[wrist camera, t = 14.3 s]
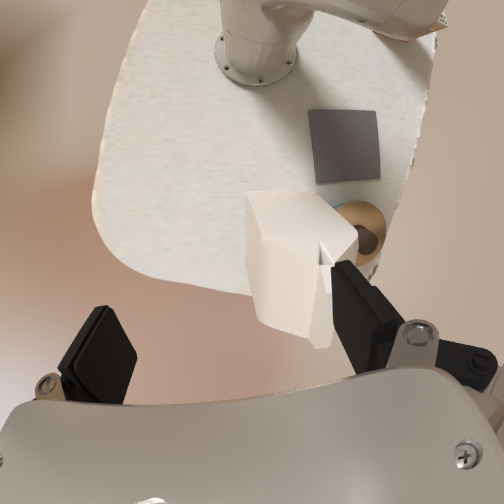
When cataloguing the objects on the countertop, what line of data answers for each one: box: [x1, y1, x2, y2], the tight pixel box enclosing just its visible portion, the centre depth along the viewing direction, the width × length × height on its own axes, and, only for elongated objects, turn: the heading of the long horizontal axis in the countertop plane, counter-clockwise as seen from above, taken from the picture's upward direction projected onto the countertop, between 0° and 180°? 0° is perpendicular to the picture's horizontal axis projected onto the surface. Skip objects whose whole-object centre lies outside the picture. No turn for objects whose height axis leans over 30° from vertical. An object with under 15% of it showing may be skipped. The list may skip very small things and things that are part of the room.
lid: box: [336, 201, 386, 266], centre depth 40 cm, size 11×11×5 cm
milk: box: [245, 191, 359, 349], centre depth 33 cm, size 12×12×26 cm
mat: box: [308, 110, 380, 183], centre depth 40 cm, size 12×12×1 cm
